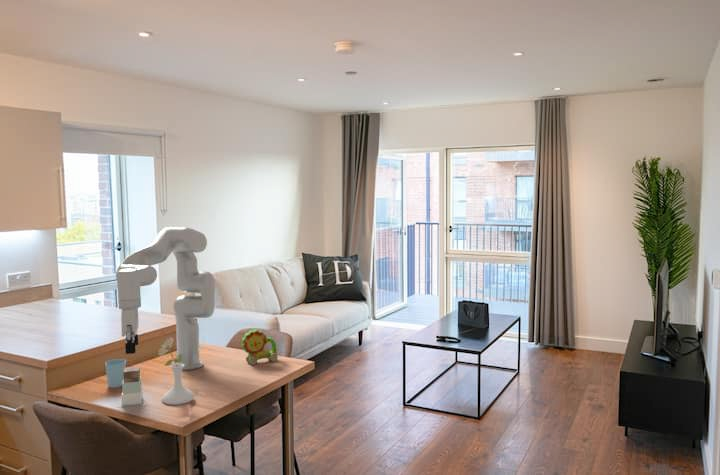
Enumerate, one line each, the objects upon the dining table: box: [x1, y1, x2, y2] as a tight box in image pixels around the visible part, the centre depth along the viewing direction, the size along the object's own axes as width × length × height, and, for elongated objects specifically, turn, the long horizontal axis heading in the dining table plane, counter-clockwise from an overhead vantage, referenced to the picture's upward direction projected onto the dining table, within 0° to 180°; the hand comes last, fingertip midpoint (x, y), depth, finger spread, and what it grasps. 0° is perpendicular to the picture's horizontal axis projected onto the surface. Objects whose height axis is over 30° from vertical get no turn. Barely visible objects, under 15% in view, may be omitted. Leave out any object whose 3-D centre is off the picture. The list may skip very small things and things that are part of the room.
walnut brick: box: [123, 366, 141, 383], centre depth 205 cm, size 5×5×4 cm
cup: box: [104, 358, 127, 389], centre depth 222 cm, size 8×8×10 cm
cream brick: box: [120, 386, 144, 405], centre depth 205 cm, size 6×6×4 cm
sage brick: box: [121, 375, 143, 394], centre depth 205 cm, size 6×6×4 cm
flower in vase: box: [157, 336, 195, 406], centre depth 206 cm, size 13×11×25 cm
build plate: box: [115, 394, 149, 409], centre depth 206 cm, size 10×10×1 cm
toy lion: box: [241, 329, 278, 366], centre depth 256 cm, size 16×5×15 cm, turn 120°
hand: (132, 349), depth 205 cm, fingers open, 9 cm apart
